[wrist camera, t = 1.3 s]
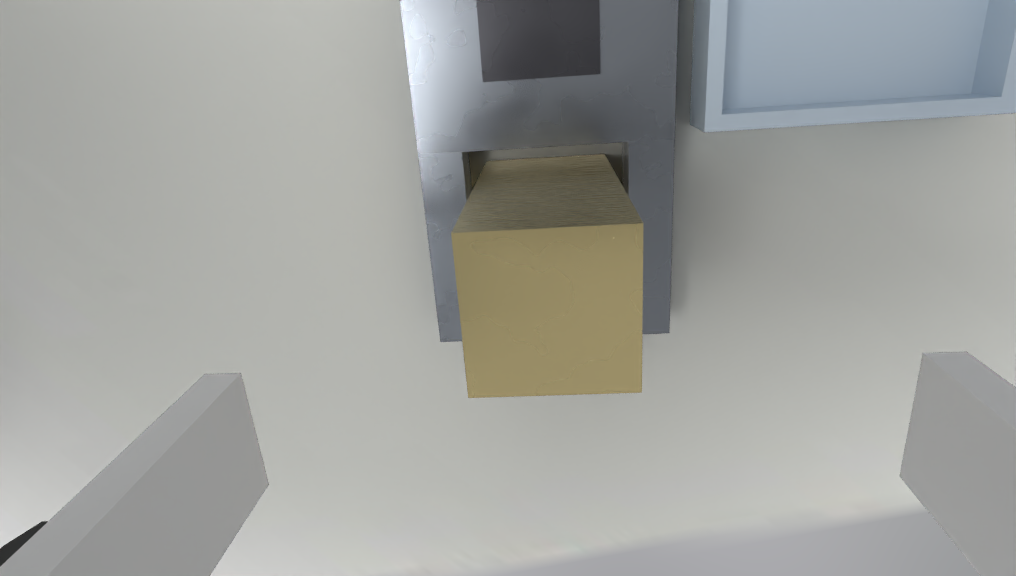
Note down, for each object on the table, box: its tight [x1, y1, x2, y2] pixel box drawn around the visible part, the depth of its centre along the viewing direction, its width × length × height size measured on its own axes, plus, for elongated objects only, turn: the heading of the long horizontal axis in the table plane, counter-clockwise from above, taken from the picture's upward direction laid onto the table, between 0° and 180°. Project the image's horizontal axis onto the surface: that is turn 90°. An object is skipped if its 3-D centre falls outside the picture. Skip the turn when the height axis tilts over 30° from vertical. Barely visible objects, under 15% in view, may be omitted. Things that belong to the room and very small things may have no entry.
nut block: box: [451, 154, 643, 398], centre depth 22 cm, size 5×5×11 cm
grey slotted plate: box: [400, 0, 678, 342], centre depth 24 cm, size 10×22×2 cm, turn 4°
